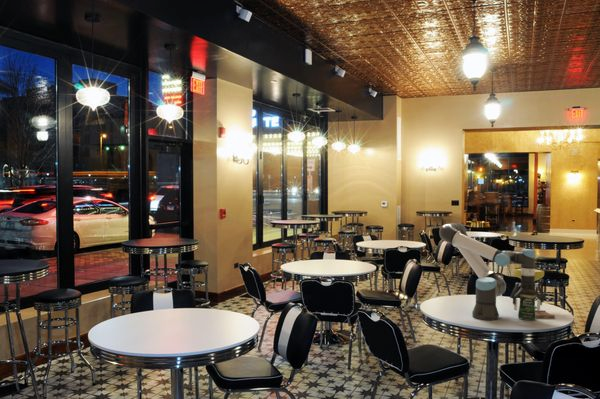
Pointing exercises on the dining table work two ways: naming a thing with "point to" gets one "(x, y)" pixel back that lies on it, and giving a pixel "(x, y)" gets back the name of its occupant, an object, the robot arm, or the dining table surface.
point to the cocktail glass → (538, 275)
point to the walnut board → (543, 314)
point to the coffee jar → (527, 304)
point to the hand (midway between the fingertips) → (527, 310)
